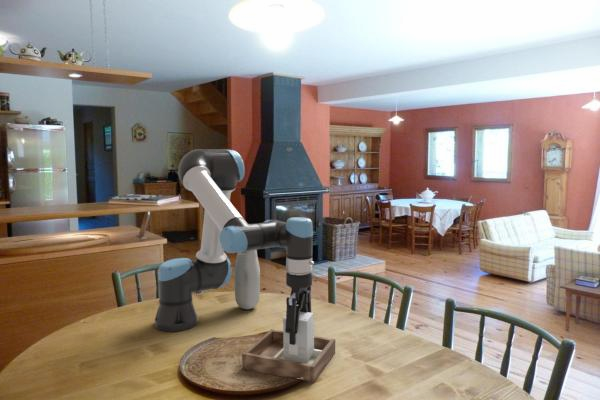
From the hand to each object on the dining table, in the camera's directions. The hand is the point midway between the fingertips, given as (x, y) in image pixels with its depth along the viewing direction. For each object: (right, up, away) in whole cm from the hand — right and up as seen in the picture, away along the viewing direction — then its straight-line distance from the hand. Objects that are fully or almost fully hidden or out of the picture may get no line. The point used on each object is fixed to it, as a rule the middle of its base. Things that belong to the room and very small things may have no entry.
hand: (298, 348), depth 133 cm
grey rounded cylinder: (-21, -1, +51) cm, 55 cm away
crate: (-2, -5, +5) cm, 7 cm away
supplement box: (0, -3, 0) cm, 3 cm away
